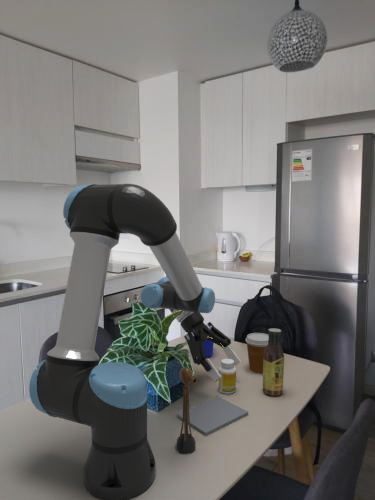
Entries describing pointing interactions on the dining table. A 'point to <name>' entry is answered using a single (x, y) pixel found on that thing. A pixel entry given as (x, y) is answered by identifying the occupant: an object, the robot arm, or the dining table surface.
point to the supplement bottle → (227, 376)
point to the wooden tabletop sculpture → (186, 415)
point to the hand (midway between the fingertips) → (228, 371)
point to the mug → (208, 348)
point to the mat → (213, 415)
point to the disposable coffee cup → (256, 350)
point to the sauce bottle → (273, 364)
